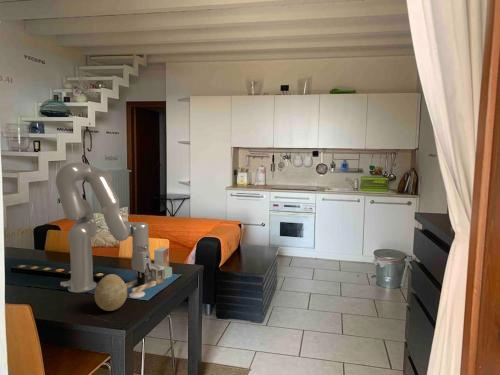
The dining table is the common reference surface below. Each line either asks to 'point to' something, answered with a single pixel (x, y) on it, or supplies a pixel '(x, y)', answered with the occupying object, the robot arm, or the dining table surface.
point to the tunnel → (148, 285)
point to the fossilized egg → (110, 292)
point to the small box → (161, 256)
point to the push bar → (151, 278)
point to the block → (166, 272)
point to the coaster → (137, 294)
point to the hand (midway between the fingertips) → (141, 284)
